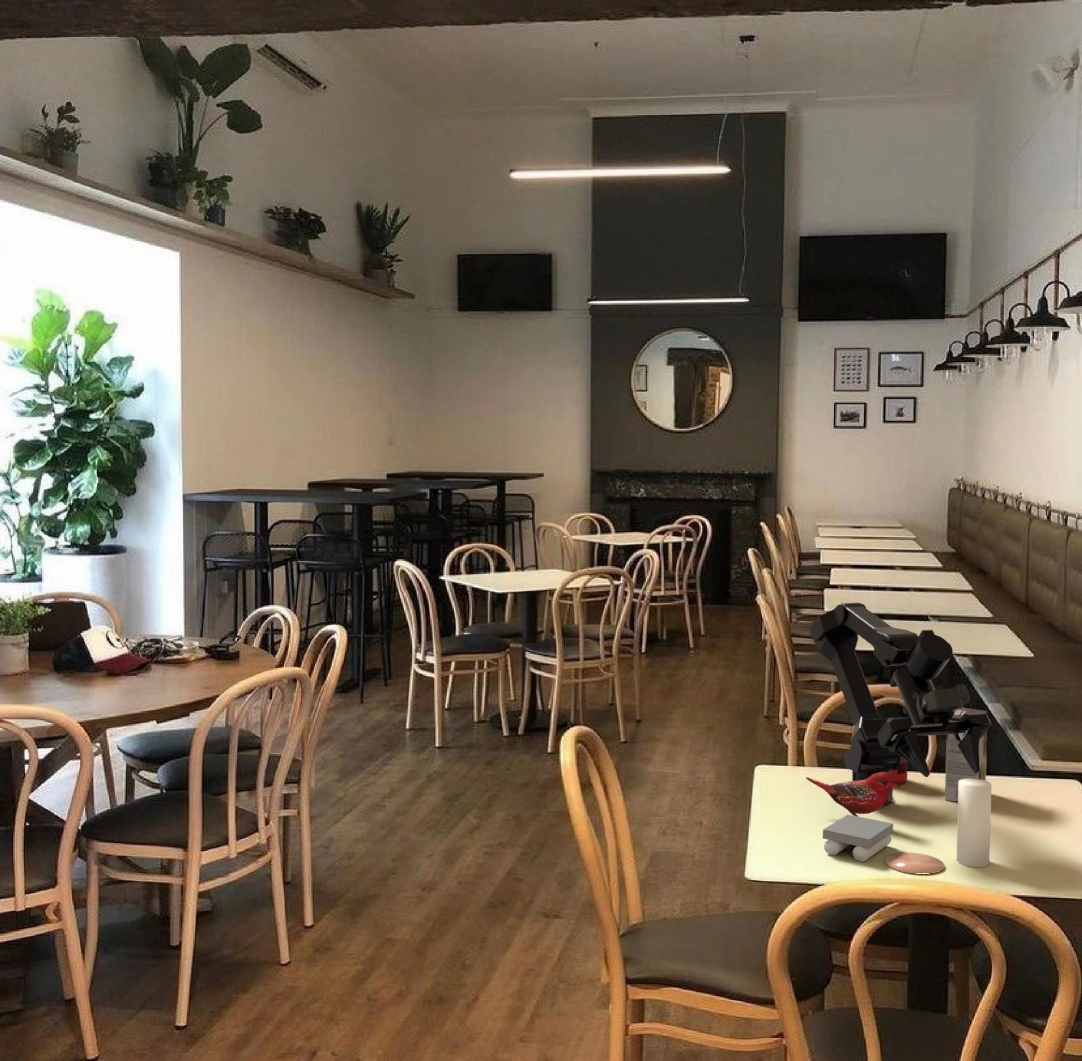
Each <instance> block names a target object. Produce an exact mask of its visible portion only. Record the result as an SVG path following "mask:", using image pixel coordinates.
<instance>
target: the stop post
mask: <svg viewBox="0 0 1082 1061" xmlns="http://www.w3.org/2000/svg"><path fill="white" fill-rule="evenodd" d="M991 811H992V782H990V781H987V780H986V781H985V780H980V779H961V780H959V783H958V802H957V825H956V826H957V830H956V832H957V833H956V835H957V836H956V862H957V861H958V862H959V863H958V862H957V863H958V864H960V865H962V864H963V865H962V866H965V867H969V866H972V867H971V868H985V867H984V866H986V867H988V866H989V865H990V856H991V855H990V848H991V846H990V845H991V818H992V817H991V816H992V815H991V813H992V812H991Z"/></svg>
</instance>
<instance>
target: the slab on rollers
mask: <svg viewBox="0 0 1082 1061" xmlns="http://www.w3.org/2000/svg"><path fill="white" fill-rule="evenodd" d="M858 816H859V815H858ZM858 816H854V815H852V814H847V815H844V816H842V818H840V819H838V820H836V821H834V822H833V823H832V824H829V825H828V826H826V827H825V828H823V829H822V839H824V840H826V841H825V842H824V845H823V849H824V851H825V853H826V854H828V855H829V856H835V855H837V854H838V853H840V852H841V851H843V850H845V849H847V848H848V847H849V846H850V845H853V846H855V847H853V850H852V855H853V858H854V859H855V860H856V861H857V862H861V863H862V862H863V863H864V862H865V861H867V860H869V859H870V858H872V856H874V855H875V854H876V853H878V852H880V851H882V850H883V849H884V848H885V847H888V845H890V844H891V843H892V836H891V834H892V833H894V823H893V822H888V821H882V820H877V819H872V818H867V817H862V816H859V817H858Z"/></svg>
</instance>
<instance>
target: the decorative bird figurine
mask: <svg viewBox="0 0 1082 1061" xmlns="http://www.w3.org/2000/svg"><path fill="white" fill-rule="evenodd" d="M805 779H806V780H807V781H809V782H810V783H812V784H813V785H815V786H817V787H819V788H821V789H822V790H823V791H825V793H827V794H828V795H829V797H830V798H831V799H832V801H833V802H835V803H836V804H838V805H839V806H841V807H843V808H844V809H846V811H848V812H849V813H850V815H853V816H858V817H860V816H859V815H868V814H871V813H875V812H877V811H879V810H880V809H881V808H883V807H884V806H885V805H884V803H885V802H886V800H887V797H888V795H889V794H890V793H891V790H892V787H893V788H898V785H896V784H895V783H894V782H893V780H892V777H891V776H890V774H889V773H887V772H879V773H875V774H873V775H871V776H870V777H869V778H867V779H865V780H860V781H852V780H849V781H842V782H838V783H834V784H827V783H824V782H822V781H820V780H819V781H818V780H816V779H813V778H810V777H805ZM883 805H884V806H883ZM882 806H883V807H882ZM858 814H859V815H858Z"/></svg>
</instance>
